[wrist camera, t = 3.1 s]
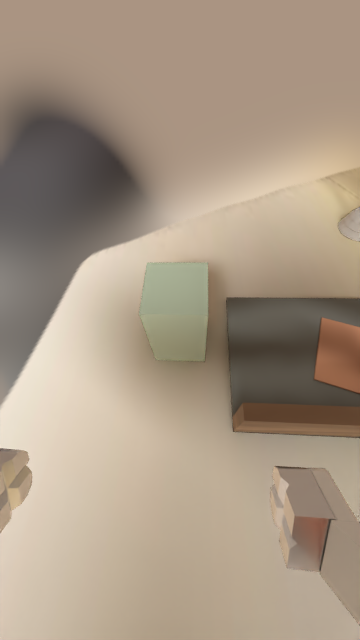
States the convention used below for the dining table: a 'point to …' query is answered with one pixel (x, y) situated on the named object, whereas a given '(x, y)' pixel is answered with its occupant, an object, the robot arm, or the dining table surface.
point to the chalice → (351, 225)
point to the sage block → (176, 310)
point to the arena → (295, 365)
